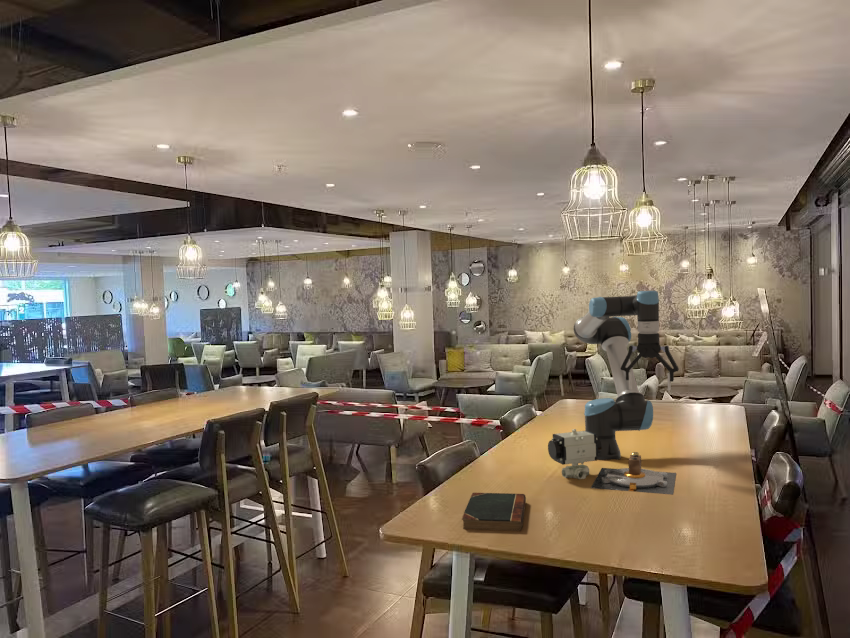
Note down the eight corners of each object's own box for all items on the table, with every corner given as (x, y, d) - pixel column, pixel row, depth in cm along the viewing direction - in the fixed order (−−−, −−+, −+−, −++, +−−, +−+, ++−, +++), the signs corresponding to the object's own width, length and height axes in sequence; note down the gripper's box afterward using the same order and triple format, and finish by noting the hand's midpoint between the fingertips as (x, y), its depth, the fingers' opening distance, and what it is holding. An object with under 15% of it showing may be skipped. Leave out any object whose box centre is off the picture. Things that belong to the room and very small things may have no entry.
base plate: (590, 490, 215) (590, 487, 215) (601, 470, 239) (601, 467, 239) (673, 497, 205) (673, 494, 205) (676, 475, 229) (676, 472, 229)
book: (472, 503, 210) (461, 530, 185) (472, 492, 210) (461, 518, 185) (526, 504, 206) (522, 532, 182) (525, 493, 206) (521, 520, 182)
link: (629, 474, 222) (628, 458, 222) (631, 468, 228) (630, 454, 228) (639, 474, 220) (639, 459, 220) (641, 469, 227) (640, 454, 227)
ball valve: (559, 484, 224) (557, 434, 223) (548, 478, 232) (546, 429, 231) (605, 478, 228) (603, 429, 228) (592, 472, 237) (591, 425, 236)
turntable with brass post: (647, 493, 207) (647, 470, 206) (588, 479, 225) (587, 458, 224) (682, 479, 220) (681, 458, 219) (623, 467, 238) (622, 447, 238)
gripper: (611, 333, 238) (613, 390, 239) (683, 333, 227) (685, 392, 228) (615, 331, 245) (617, 386, 246) (685, 331, 233) (686, 389, 235)
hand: (649, 389), depth 237 cm, fingers open, 13 cm apart
